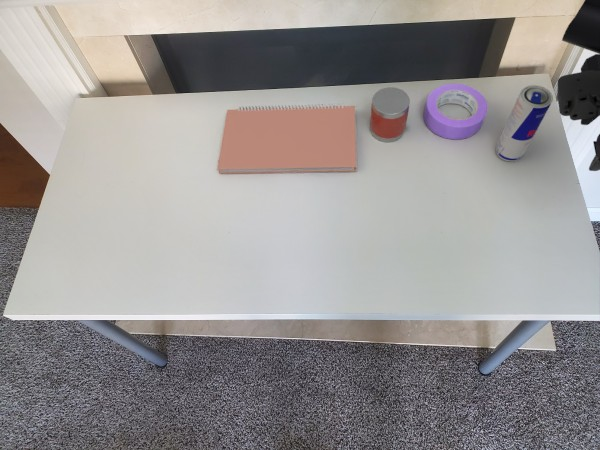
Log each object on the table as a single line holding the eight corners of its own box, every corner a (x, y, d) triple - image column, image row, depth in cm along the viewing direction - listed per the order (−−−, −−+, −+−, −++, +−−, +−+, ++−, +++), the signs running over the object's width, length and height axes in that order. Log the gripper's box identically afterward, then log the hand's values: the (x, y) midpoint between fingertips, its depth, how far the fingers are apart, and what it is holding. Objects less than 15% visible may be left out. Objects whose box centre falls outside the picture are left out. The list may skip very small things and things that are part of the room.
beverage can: (520, 166, 83) (551, 109, 71) (492, 160, 85) (518, 102, 72) (524, 146, 86) (555, 87, 73) (496, 140, 87) (523, 81, 74)
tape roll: (478, 96, 93) (483, 82, 90) (486, 139, 87) (492, 126, 84) (421, 97, 94) (424, 83, 91) (425, 140, 89) (428, 127, 85)
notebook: (354, 108, 94) (355, 101, 93) (356, 172, 86) (356, 165, 84) (229, 111, 97) (227, 105, 95) (219, 174, 89) (217, 168, 87)
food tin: (405, 117, 92) (410, 87, 85) (404, 143, 89) (409, 115, 82) (371, 115, 93) (373, 86, 86) (368, 141, 90) (370, 113, 83)
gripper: (568, 16, 61) (528, 99, 75) (587, 117, 53) (538, 191, 66) (657, 18, 60) (600, 103, 73) (692, 123, 51) (620, 198, 64)
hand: (588, 146), depth 69 cm, fingers open, 9 cm apart
